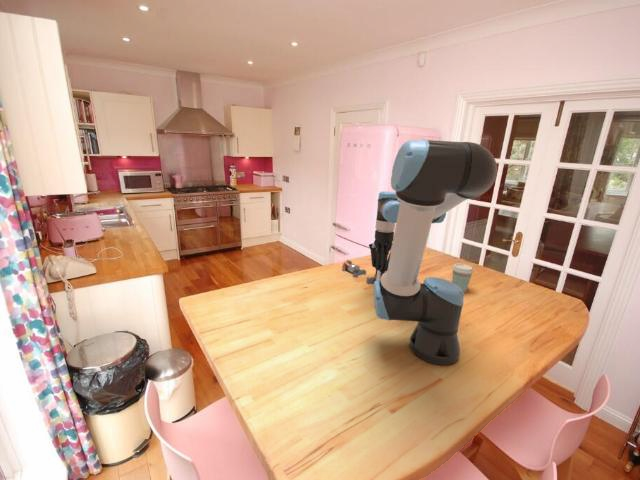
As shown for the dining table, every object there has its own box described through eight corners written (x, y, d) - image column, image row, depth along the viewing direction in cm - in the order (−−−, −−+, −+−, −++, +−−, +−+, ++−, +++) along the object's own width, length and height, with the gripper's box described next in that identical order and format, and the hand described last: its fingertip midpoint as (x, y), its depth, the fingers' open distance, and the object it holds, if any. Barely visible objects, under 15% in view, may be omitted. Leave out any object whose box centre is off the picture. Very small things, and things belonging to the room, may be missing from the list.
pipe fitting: (382, 291, 132) (383, 278, 130) (340, 273, 150) (341, 261, 149) (393, 286, 138) (395, 274, 136) (351, 270, 156) (352, 258, 154)
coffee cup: (464, 287, 140) (469, 263, 137) (472, 296, 132) (477, 270, 129) (446, 286, 141) (450, 262, 138) (452, 294, 133) (456, 269, 129)
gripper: (403, 232, 118) (397, 287, 124) (377, 226, 127) (372, 277, 134) (393, 234, 113) (386, 292, 119) (366, 228, 123) (361, 281, 129)
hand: (379, 284), depth 126 cm, fingers closed
